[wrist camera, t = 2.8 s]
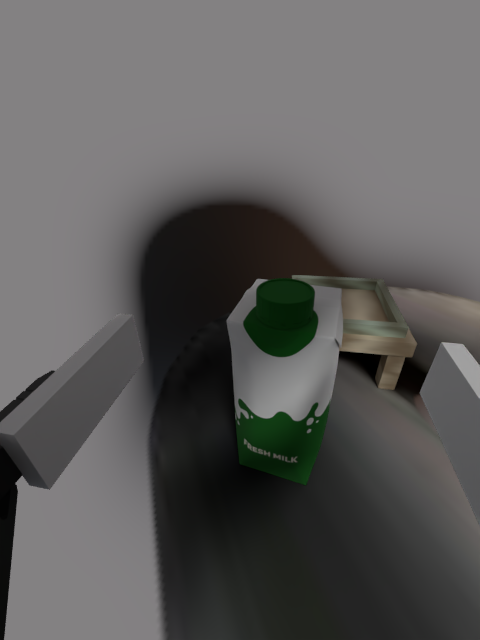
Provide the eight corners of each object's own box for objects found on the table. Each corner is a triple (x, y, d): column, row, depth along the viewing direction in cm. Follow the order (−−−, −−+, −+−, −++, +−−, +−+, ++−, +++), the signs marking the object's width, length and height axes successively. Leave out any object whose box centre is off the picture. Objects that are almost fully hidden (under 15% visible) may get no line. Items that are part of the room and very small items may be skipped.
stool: (374, 326, 51) (387, 277, 46) (399, 393, 38) (420, 333, 33) (283, 320, 54) (286, 272, 49) (276, 379, 41) (279, 322, 36)
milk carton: (227, 469, 30) (212, 296, 19) (254, 404, 37) (253, 252, 26) (314, 498, 27) (351, 316, 17) (324, 422, 34) (354, 261, 24)
